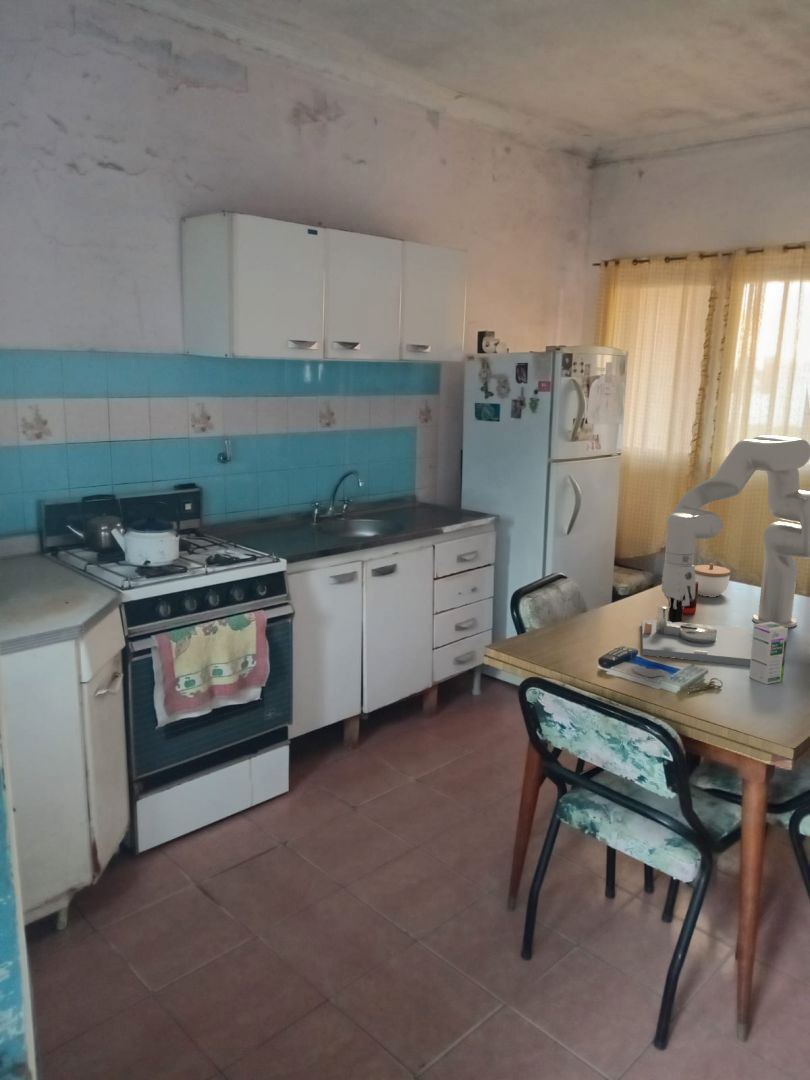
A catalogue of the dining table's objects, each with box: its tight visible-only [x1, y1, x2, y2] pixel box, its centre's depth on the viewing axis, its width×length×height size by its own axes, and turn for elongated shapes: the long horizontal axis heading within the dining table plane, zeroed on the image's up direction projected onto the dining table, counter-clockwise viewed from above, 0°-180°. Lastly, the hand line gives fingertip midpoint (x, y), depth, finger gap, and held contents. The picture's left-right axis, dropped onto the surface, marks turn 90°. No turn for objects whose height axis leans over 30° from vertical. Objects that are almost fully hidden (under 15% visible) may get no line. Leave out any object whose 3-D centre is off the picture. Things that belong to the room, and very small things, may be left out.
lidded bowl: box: [694, 562, 731, 598], centre depth 286 cm, size 13×13×11 cm
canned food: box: [682, 578, 698, 616], centre depth 265 cm, size 8×8×11 cm
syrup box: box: [749, 621, 789, 685], centre depth 208 cm, size 6×6×14 cm
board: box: [641, 618, 753, 667], centre depth 234 cm, size 28×30×5 cm
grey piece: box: [656, 605, 717, 643], centre depth 235 cm, size 16×10×8 cm, turn 64°
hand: (675, 621), depth 231 cm, fingers closed
